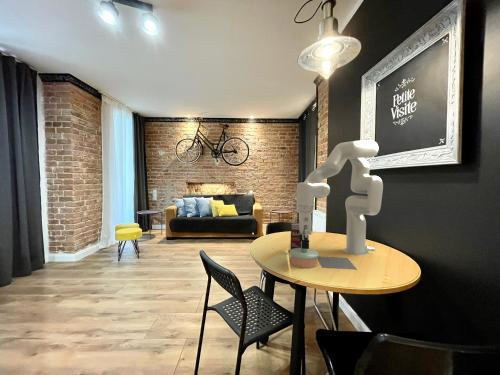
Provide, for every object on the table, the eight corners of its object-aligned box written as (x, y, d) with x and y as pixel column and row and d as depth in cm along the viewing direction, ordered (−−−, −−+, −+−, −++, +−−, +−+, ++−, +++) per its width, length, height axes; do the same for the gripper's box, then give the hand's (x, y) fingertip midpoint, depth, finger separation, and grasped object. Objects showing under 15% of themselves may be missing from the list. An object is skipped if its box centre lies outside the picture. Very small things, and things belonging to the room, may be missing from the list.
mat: (347, 259, 116) (347, 257, 116) (357, 271, 101) (357, 269, 101) (316, 258, 118) (316, 256, 118) (322, 269, 103) (322, 267, 103)
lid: (315, 250, 114) (316, 238, 114) (320, 260, 101) (321, 246, 101) (289, 249, 115) (289, 237, 115) (290, 258, 102) (291, 244, 102)
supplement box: (290, 254, 123) (291, 225, 123) (290, 251, 128) (290, 223, 128) (307, 255, 122) (307, 225, 122) (306, 252, 127) (306, 223, 127)
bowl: (314, 261, 114) (315, 251, 113) (319, 270, 102) (319, 259, 101) (290, 260, 115) (290, 250, 115) (291, 269, 103) (291, 258, 103)
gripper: (316, 211, 98) (315, 251, 99) (310, 207, 115) (309, 240, 116) (298, 211, 99) (297, 250, 100) (295, 206, 116) (294, 240, 117)
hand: (304, 245), depth 108 cm, fingers open, 9 cm apart
